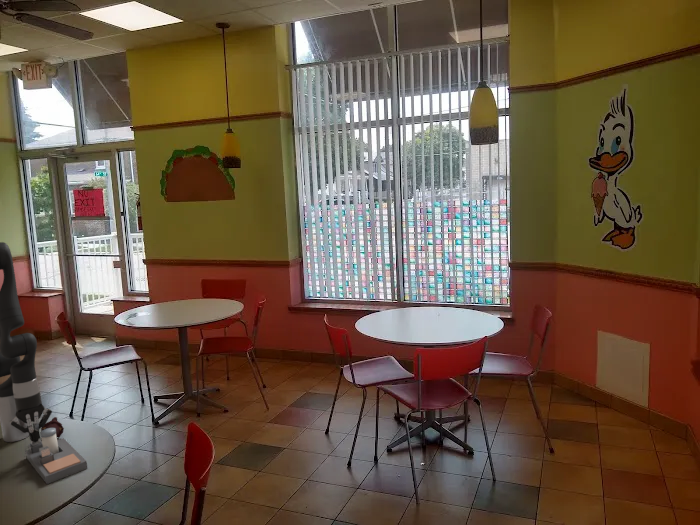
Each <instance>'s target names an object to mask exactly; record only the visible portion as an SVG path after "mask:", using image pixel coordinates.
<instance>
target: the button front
mask: <svg viewBox="0 0 700 525" xmlns="http://www.w3.org/2000/svg"><path fill="white" fill-rule="evenodd" d="M39 451H40V456H41V458H45V457H48V456H50V449H49V447H48V446H45V447H42V448H39Z"/></svg>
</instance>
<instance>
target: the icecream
mask: <svg viewBox="0 0 700 525" xmlns="http://www.w3.org/2000/svg"><path fill="white" fill-rule="evenodd" d="M47 428H55V429H56V436H57V437H59V438H60V437H61V436H62V434H63V433H64V429H65V428H64V427H63V424H62V423H61V422H60V421H58V417H57V416H54V417H52V419H51V420H50V421H47V422H46V424H45V425H44V427H41V428H40V432H41V431H42V430H44V429H47Z"/></svg>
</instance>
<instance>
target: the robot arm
mask: <svg viewBox="0 0 700 525" xmlns="http://www.w3.org/2000/svg"><path fill="white" fill-rule="evenodd" d="M0 270H2V272H3V273H2V274H3V280H2V284H1V287H0V378H2V377H6V376H9V377H8V378H7V379H6V380H5V381H3V382H2V383H0V426H1V427H0V428H1V429H0V430H1V434H2V440H3V441H4V442H5V443H13V442H17V441H21V440H23V439H26V438H29V440H30V442H31V441H33V442H37V441H39V440H41V435H40V430H41V428H42V427H44V425H45V424H46V423H47V422H48V420H49V419H50V417H51V415H52V413H53V411H52V410H51V409H50V408H46V407H45V406H44V405H43V401H42V396H41V391H40V390H41V389H40V385H39V382H38V378H37V373H36V372H37V371H36V364H35V363H36V361H35V360H36V355H37V354H36V353H37V346H38V342H37V338H36V336H35V335H34V334H33V333H30V332H25V333H21V334H16V335H12V336H11V332H13V331H14V330H16V329H20V328H21V327H23V326H24V325H25V319H24V315H23V312H22V307H21V304H20V300H19V296H18V290H17V289H18V288H17V282H16V274H15V266H14V261H13V256H12V251H11V248H10V247H9V245H8V243H6V242H3V241H1V242H0ZM22 356H23V359H21V357H22ZM41 416H42V417H41ZM40 418H41V419H40ZM39 419H40V421H39ZM38 439H39V440H38Z"/></svg>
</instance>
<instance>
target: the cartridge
mask: <svg viewBox="0 0 700 525" xmlns="http://www.w3.org/2000/svg"><path fill="white" fill-rule="evenodd" d="M39 434H40V440H41V441H42V445H43V447H45V446H48V447H49V449H50V452H51V453H52V454H53V455H54V454H56V453H59V449H58V442H57V440H58V438H57V436H56V429H55V428H47V429H44V430H42V431H41V430H40V431H39Z"/></svg>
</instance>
